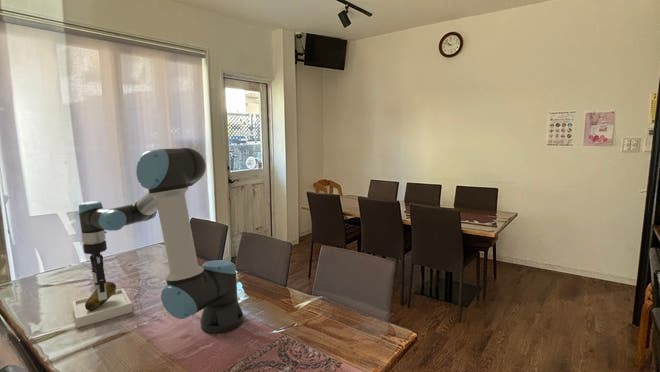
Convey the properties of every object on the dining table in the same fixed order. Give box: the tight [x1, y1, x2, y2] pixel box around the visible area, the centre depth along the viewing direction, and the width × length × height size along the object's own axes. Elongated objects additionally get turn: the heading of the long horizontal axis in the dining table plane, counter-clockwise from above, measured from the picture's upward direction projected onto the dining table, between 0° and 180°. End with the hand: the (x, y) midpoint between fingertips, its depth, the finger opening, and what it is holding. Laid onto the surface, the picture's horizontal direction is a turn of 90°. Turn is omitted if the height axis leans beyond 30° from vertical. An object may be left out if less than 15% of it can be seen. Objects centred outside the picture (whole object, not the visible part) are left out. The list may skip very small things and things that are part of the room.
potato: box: [85, 281, 117, 311], centre depth 142 cm, size 8×13×8 cm, turn 152°
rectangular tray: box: [71, 287, 133, 329], centre depth 143 cm, size 18×18×4 cm
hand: (100, 293), depth 142 cm, fingers open, 13 cm apart
